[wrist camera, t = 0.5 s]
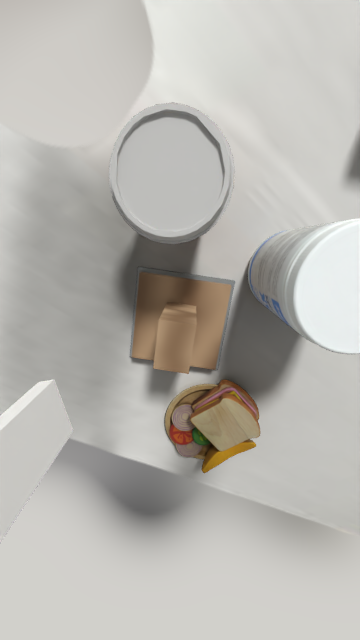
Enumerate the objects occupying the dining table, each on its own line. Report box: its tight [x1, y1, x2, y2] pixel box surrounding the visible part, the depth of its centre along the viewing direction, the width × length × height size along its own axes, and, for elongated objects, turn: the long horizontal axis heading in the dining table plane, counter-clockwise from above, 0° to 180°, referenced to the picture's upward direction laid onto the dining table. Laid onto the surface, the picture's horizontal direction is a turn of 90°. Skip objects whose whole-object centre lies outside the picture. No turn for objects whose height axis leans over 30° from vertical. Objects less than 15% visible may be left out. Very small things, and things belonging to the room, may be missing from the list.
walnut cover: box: [132, 272, 232, 374], centre depth 29 cm, size 11×11×9 cm
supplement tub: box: [248, 219, 360, 354], centre depth 24 cm, size 10×10×15 cm
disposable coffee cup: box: [109, 102, 235, 244], centre depth 24 cm, size 10×10×12 cm
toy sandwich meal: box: [165, 380, 260, 473], centre depth 36 cm, size 12×14×5 cm
